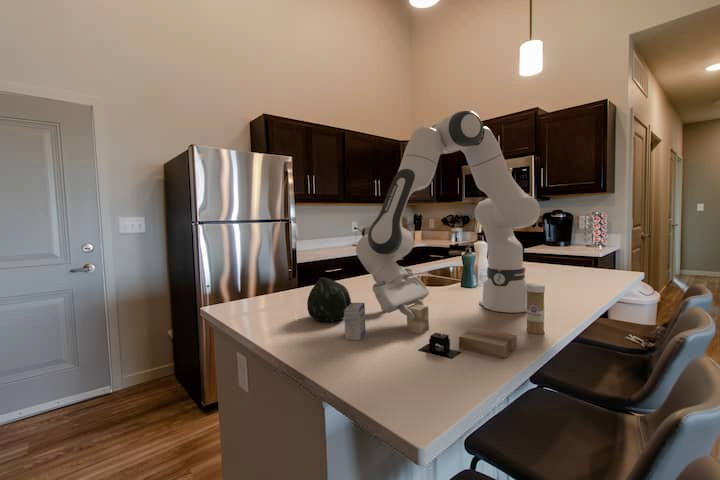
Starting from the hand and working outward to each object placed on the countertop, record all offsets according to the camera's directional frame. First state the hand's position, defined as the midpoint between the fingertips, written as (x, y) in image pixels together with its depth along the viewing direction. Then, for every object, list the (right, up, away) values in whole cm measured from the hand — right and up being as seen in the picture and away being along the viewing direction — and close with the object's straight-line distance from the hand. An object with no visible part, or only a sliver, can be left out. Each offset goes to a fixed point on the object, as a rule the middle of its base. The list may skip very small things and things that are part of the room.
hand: (419, 315), depth 101 cm
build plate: (+2, -6, -15) cm, 16 cm away
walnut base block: (+15, -5, -14) cm, 21 cm away
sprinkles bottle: (+32, -4, -4) cm, 32 cm away
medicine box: (-19, -5, -2) cm, 19 cm away
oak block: (0, -4, +1) cm, 4 cm away
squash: (-27, -5, +15) cm, 32 cm away
